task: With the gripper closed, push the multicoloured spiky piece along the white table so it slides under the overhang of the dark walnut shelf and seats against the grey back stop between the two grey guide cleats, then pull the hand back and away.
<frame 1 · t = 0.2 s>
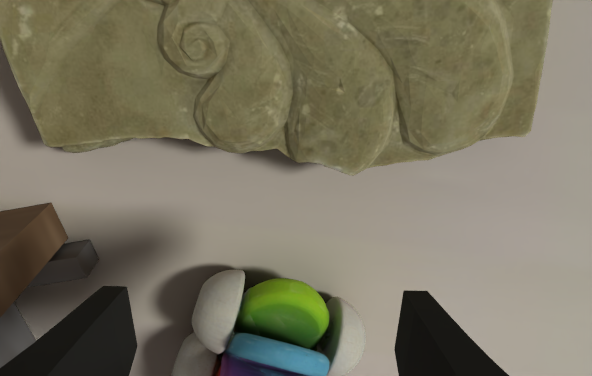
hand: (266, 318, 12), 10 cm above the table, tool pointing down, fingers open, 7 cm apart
walnut shelf: (80, 354, 25), on the table
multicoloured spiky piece: (268, 322, 25), on the table
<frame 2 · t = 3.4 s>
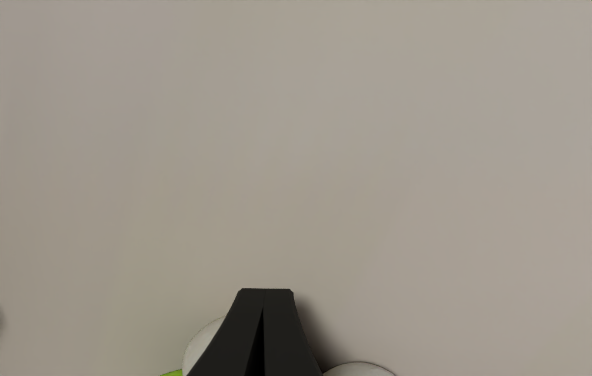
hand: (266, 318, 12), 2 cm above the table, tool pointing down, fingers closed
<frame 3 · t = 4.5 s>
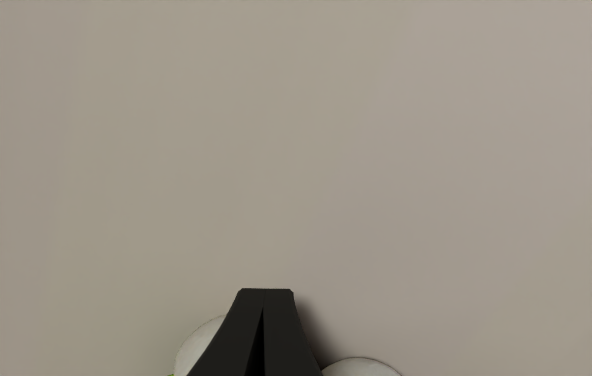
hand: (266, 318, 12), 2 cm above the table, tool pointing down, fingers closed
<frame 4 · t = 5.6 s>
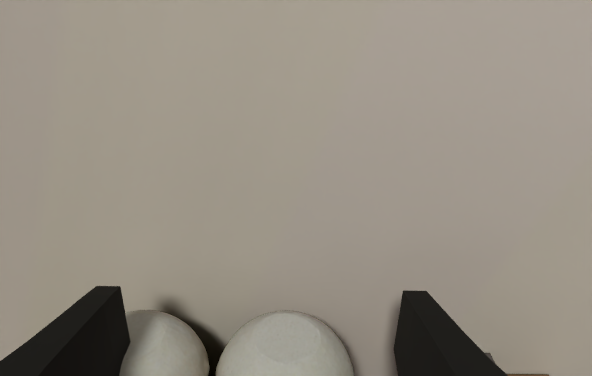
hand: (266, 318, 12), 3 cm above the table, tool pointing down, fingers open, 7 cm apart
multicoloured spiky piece: (227, 374, 16), on the table, touching gripper, walnut shelf
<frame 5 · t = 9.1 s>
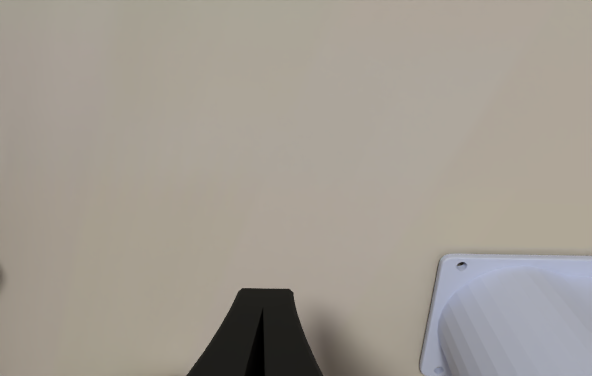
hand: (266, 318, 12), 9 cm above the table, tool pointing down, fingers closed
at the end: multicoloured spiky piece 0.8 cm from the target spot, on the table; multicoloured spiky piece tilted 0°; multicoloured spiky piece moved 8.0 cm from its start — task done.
